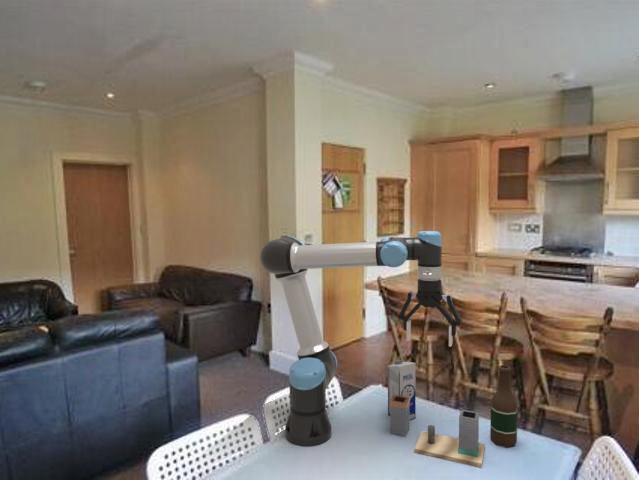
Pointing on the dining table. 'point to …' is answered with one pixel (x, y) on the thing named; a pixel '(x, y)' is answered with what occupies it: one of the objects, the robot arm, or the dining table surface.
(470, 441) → the grey rectangular box
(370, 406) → the dining table surface
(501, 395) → the beer bottle
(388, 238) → the robot arm
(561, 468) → the dining table surface
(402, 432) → the sleeve rust
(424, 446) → the pin board
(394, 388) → the milk carton
